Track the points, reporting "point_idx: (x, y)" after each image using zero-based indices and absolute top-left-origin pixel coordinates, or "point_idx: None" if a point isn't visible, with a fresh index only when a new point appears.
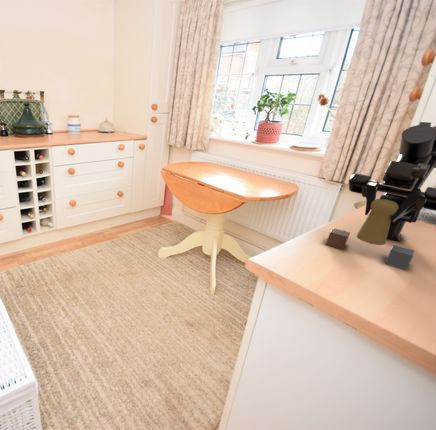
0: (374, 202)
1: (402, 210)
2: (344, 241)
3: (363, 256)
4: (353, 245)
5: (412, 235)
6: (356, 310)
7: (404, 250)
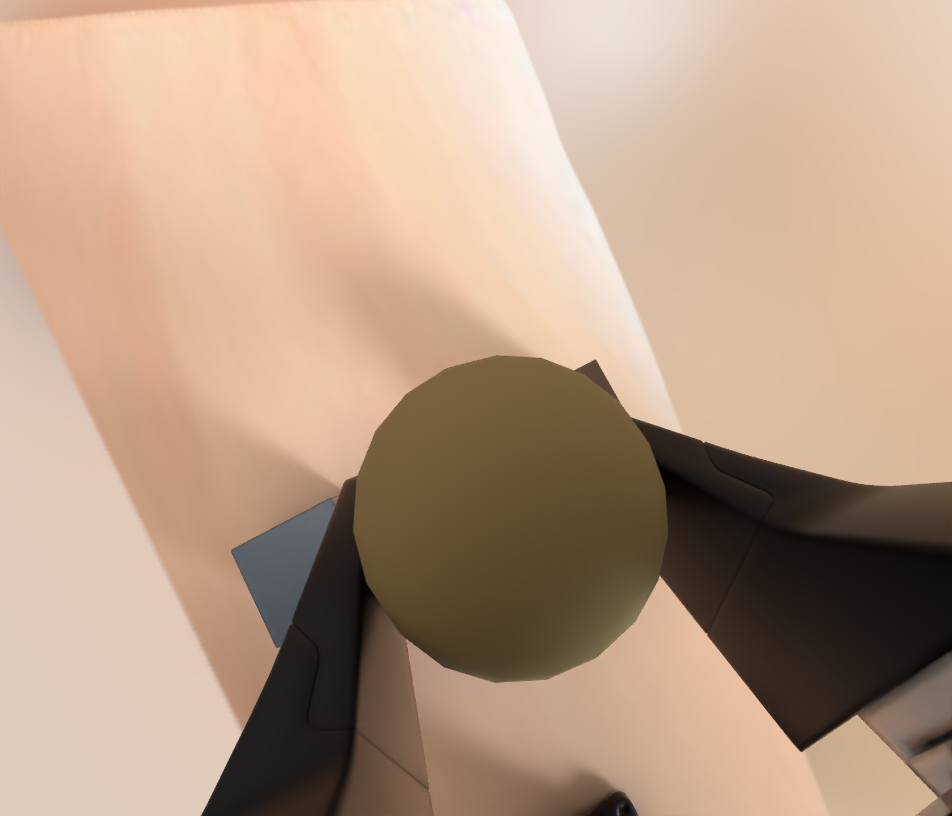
0: (588, 379)
1: (312, 595)
2: None
3: None
4: None
5: None
6: (151, 29)
7: (297, 576)
